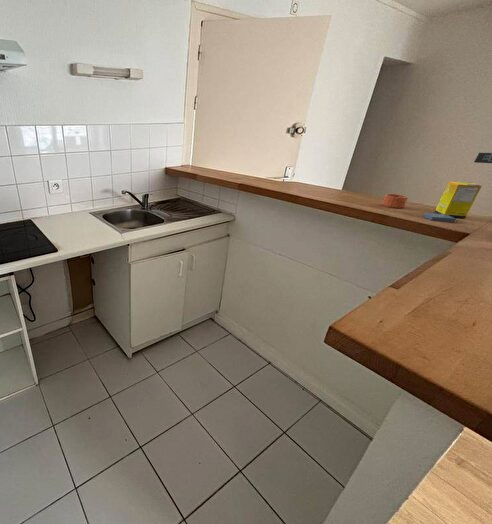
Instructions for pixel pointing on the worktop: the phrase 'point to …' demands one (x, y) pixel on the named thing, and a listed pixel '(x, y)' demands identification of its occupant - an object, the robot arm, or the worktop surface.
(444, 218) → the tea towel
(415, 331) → the worktop surface
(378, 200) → the worktop surface
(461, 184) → the supplement box
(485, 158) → the robot arm
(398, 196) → the ramekin
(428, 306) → the worktop surface
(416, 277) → the worktop surface
